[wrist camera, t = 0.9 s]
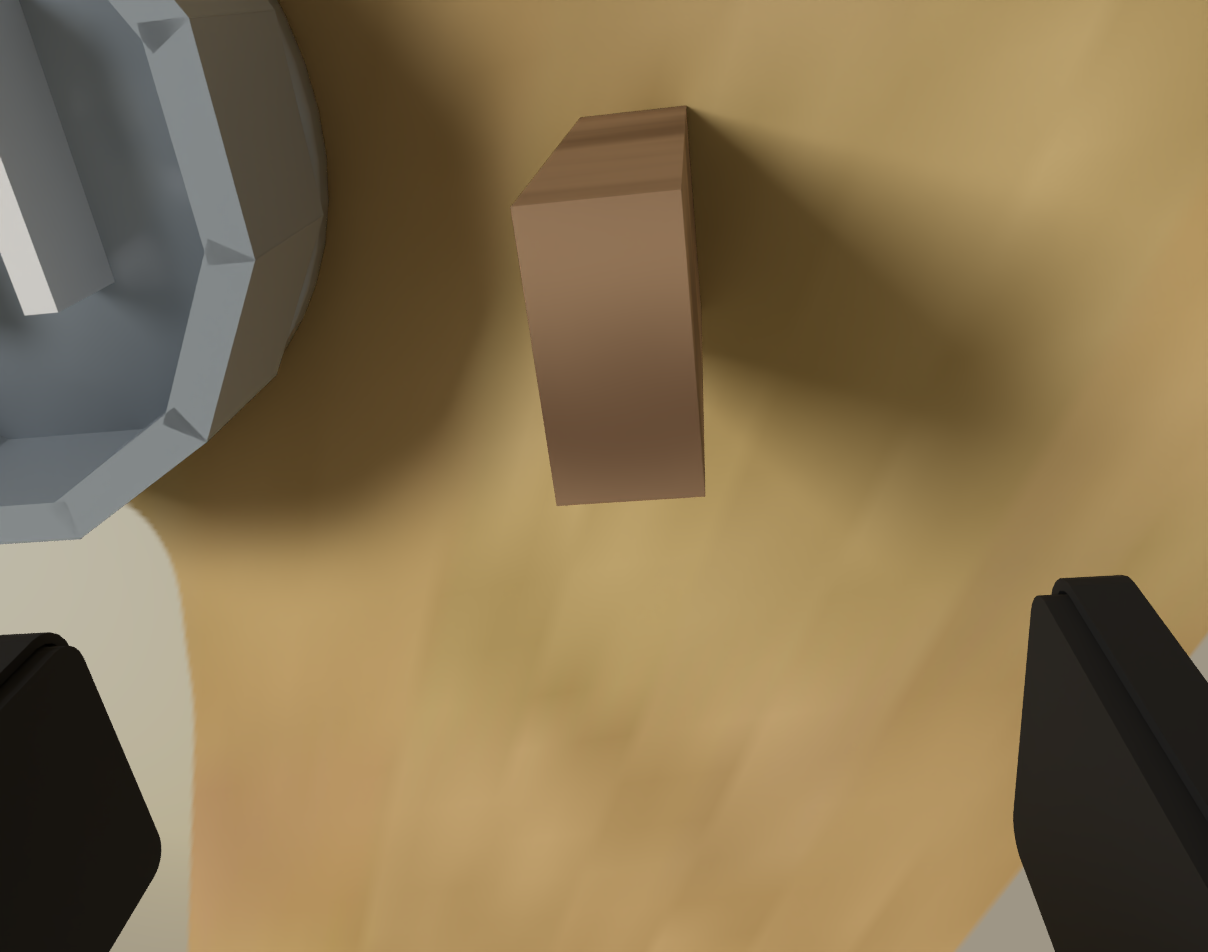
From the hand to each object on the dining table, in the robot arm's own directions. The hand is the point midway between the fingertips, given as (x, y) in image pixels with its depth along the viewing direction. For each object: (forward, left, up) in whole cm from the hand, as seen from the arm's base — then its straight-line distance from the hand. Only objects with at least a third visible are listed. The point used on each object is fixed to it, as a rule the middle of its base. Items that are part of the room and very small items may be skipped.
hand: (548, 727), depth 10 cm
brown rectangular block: (0, 0, -22) cm, 22 cm away
